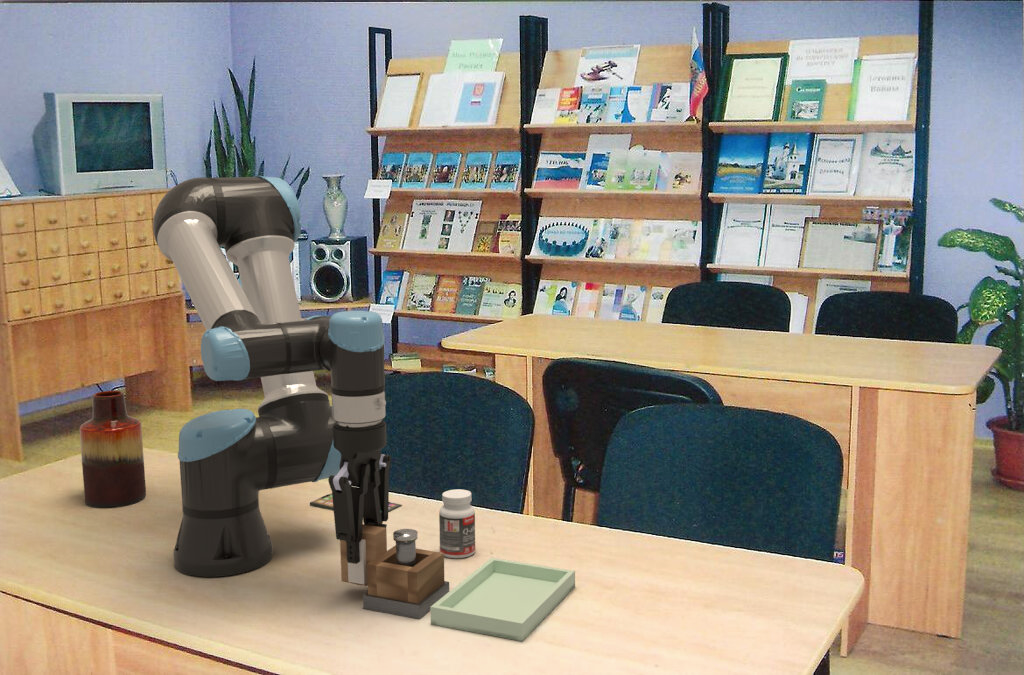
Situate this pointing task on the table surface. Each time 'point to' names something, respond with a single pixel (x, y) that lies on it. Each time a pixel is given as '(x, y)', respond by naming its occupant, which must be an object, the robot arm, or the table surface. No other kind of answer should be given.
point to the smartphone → (327, 503)
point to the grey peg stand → (408, 558)
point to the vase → (112, 454)
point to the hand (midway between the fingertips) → (364, 577)
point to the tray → (503, 599)
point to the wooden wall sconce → (396, 569)
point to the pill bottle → (457, 524)
